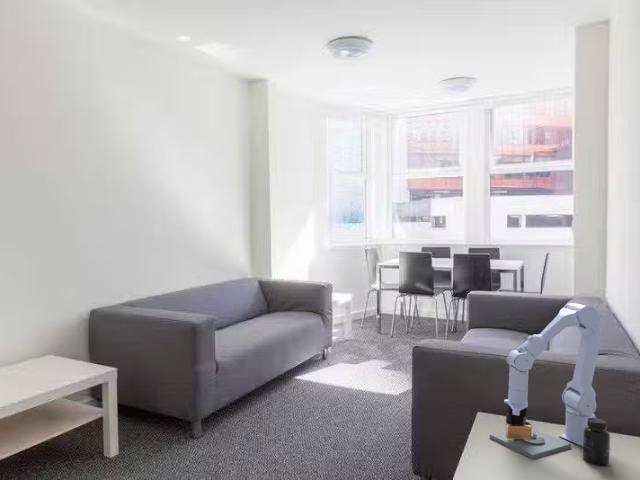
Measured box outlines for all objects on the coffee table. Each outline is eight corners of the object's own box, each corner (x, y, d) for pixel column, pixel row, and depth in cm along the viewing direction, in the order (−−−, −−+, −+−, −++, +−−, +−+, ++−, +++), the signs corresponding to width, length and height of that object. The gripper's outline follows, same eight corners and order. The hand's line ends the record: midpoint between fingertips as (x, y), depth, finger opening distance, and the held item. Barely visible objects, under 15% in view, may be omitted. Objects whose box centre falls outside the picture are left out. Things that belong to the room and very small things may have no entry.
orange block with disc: (537, 434, 154) (538, 421, 154) (549, 444, 147) (549, 430, 147) (502, 434, 154) (502, 421, 154) (511, 443, 147) (512, 429, 147)
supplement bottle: (613, 468, 136) (614, 426, 136) (587, 465, 137) (588, 423, 137) (603, 457, 142) (605, 417, 142) (579, 454, 144) (580, 415, 144)
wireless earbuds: (524, 430, 162) (524, 420, 162) (505, 423, 168) (505, 413, 168) (531, 427, 165) (531, 417, 165) (512, 420, 171) (512, 411, 171)
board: (526, 428, 163) (526, 424, 163) (570, 447, 149) (571, 442, 149) (489, 438, 154) (489, 433, 154) (532, 458, 140) (533, 453, 140)
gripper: (506, 380, 162) (505, 420, 162) (502, 392, 149) (501, 435, 149) (529, 384, 159) (527, 424, 159) (527, 396, 146) (525, 440, 146)
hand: (516, 430), depth 154 cm, fingers open, 3 cm apart
